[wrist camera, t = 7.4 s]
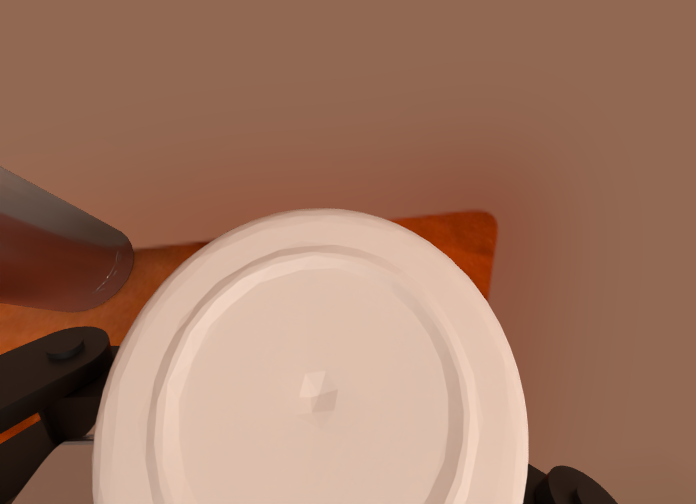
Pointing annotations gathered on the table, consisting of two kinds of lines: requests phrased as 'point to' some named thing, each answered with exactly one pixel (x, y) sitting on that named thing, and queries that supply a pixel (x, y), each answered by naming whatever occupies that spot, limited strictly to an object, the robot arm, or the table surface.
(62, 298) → the robot arm
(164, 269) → the table surface
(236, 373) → the sprinkles bottle
